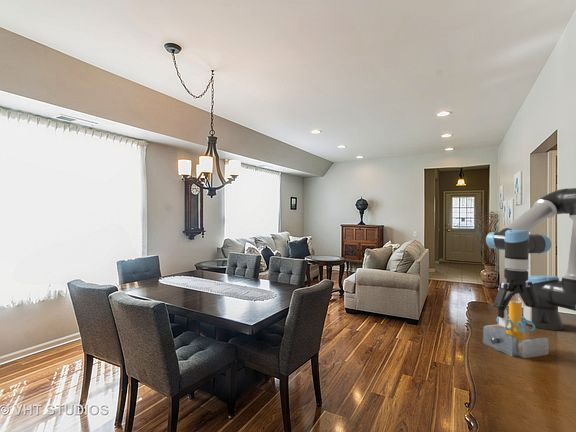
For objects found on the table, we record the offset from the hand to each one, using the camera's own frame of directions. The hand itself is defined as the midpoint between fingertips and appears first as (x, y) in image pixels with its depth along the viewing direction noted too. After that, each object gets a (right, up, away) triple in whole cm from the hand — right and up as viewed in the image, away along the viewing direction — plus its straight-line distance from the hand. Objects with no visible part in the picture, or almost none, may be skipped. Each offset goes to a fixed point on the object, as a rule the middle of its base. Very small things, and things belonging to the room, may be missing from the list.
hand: (515, 324), depth 119 cm
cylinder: (0, -6, 0) cm, 6 cm away
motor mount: (-3, -9, -1) cm, 9 cm away
